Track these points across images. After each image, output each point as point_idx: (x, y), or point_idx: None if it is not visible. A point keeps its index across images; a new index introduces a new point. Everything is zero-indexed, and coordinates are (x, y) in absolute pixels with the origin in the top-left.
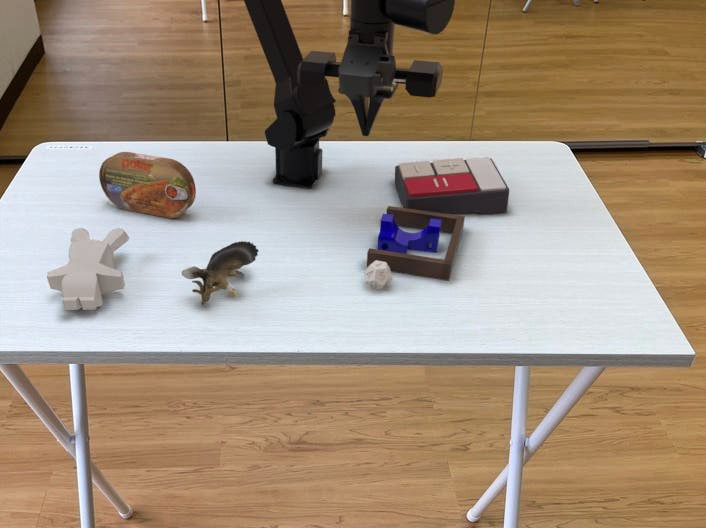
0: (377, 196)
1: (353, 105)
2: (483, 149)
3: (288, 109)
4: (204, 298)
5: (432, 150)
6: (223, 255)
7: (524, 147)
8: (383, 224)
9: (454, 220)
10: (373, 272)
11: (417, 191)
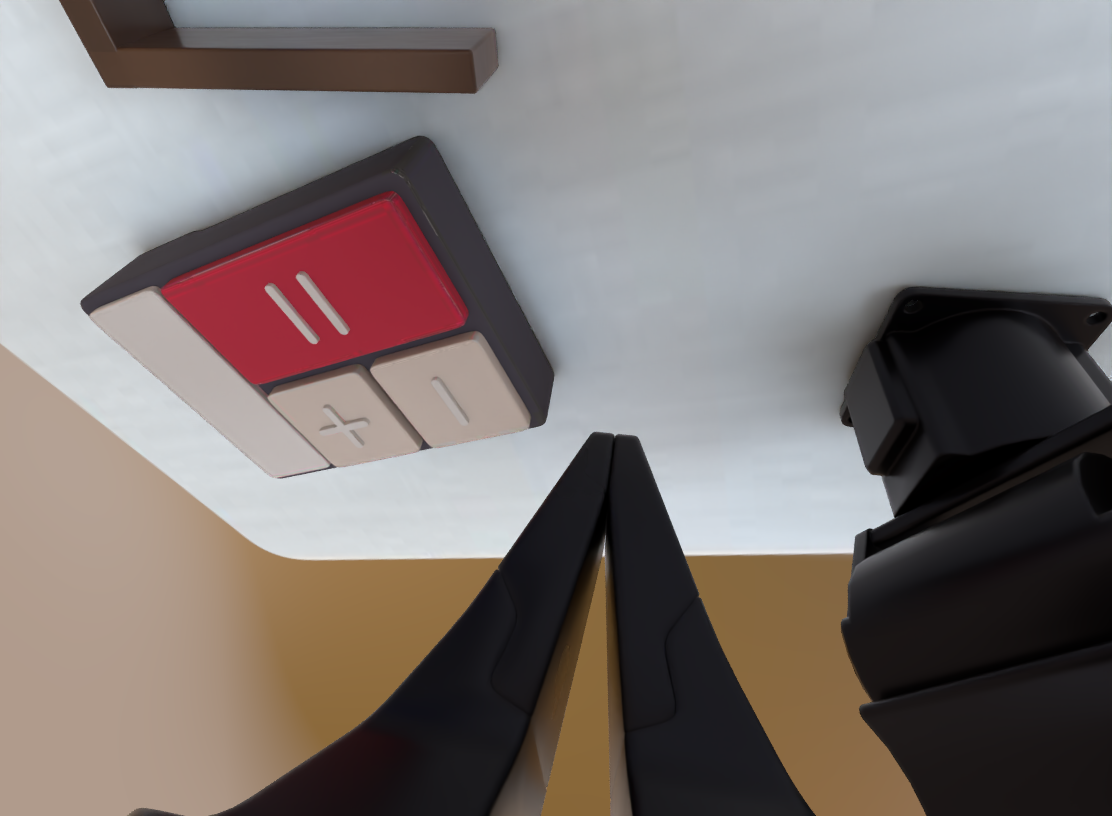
0: (595, 282)
1: (741, 705)
2: (392, 537)
3: None
4: None
5: (504, 530)
6: None
7: (317, 545)
8: None
9: (135, 46)
10: None
11: (364, 224)
